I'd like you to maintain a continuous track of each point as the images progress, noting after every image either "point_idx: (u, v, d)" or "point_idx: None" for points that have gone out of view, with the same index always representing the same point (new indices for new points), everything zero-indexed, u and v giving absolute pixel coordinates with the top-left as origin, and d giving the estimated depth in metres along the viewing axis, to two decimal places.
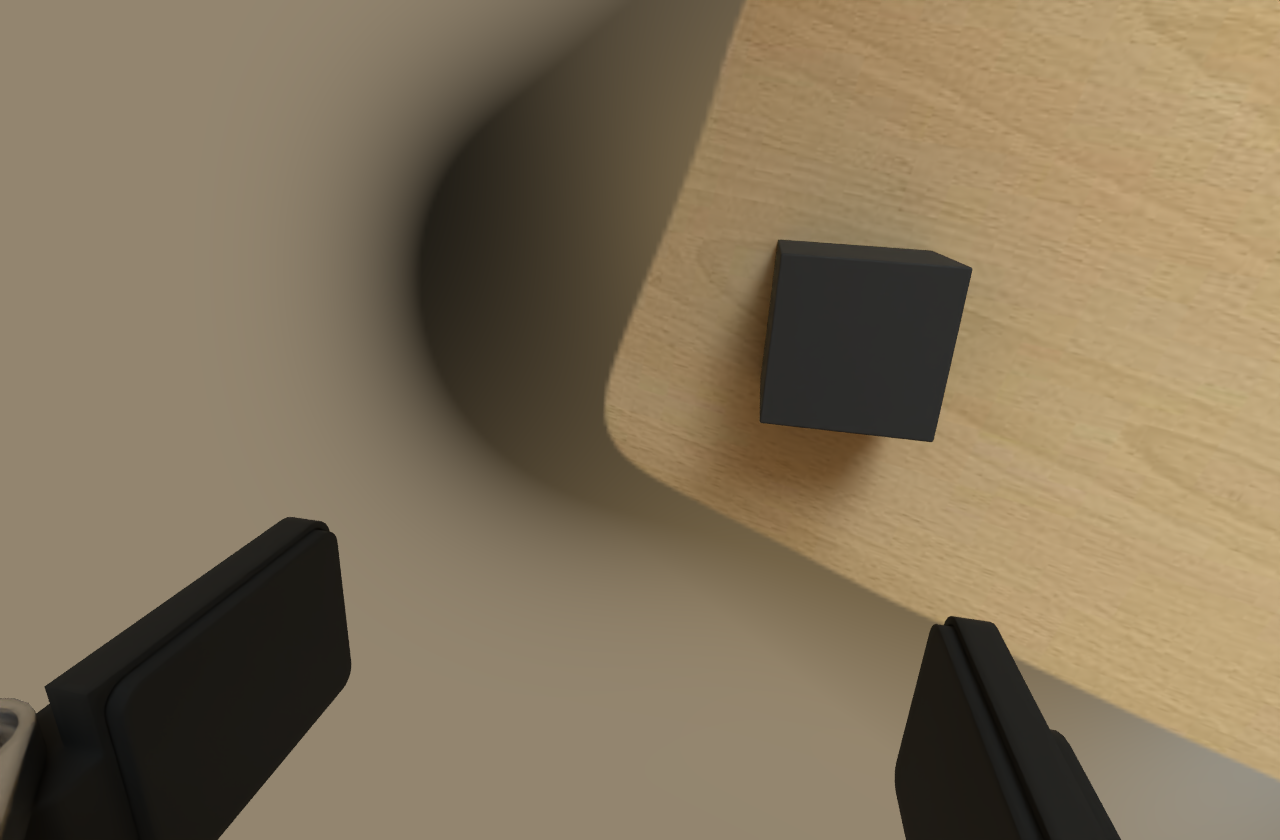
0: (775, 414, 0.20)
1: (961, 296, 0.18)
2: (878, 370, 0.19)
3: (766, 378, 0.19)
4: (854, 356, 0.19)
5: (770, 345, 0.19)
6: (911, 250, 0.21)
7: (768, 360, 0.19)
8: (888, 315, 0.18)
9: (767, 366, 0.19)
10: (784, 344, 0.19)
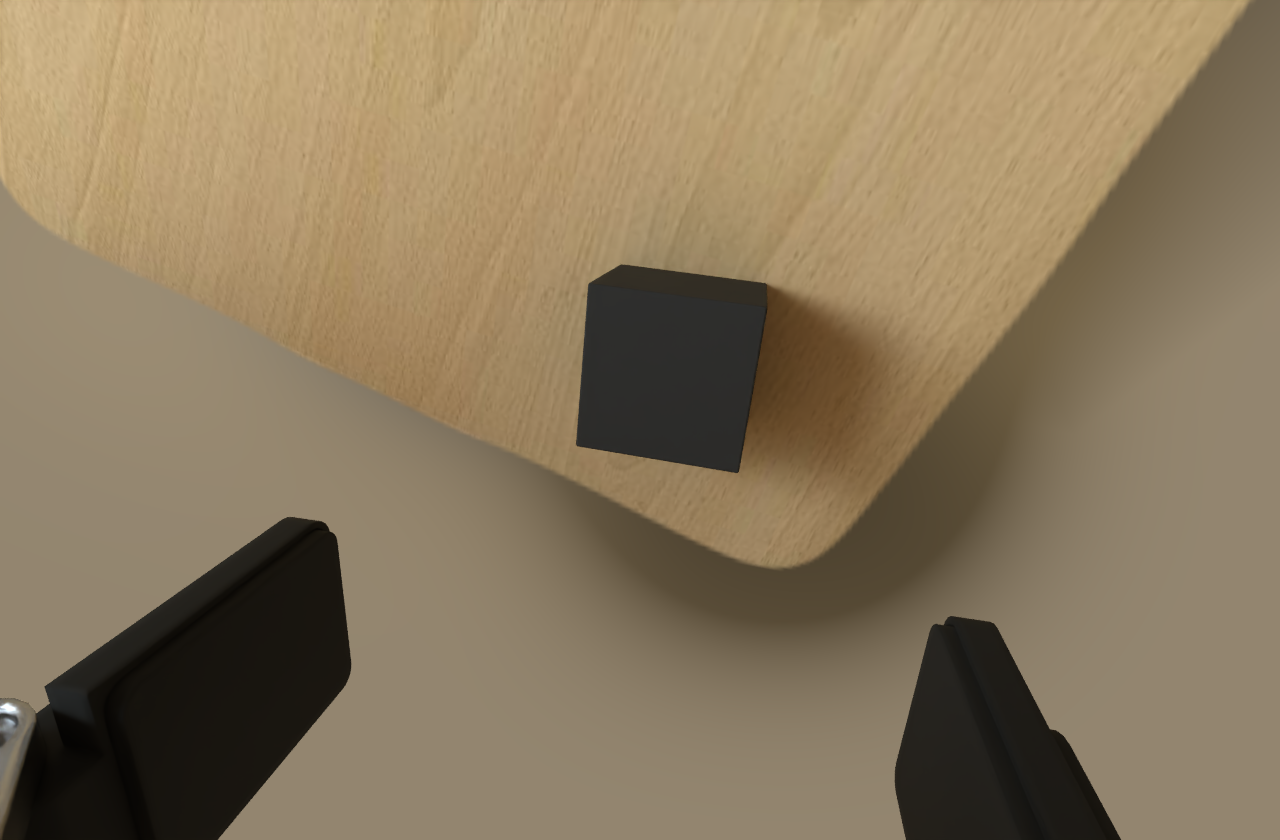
0: (729, 458, 0.20)
1: (614, 291, 0.19)
2: (686, 363, 0.19)
3: (692, 464, 0.20)
4: (671, 385, 0.19)
5: (659, 459, 0.20)
6: None
7: (674, 461, 0.20)
8: (631, 355, 0.19)
9: (680, 462, 0.20)
10: (658, 447, 0.20)
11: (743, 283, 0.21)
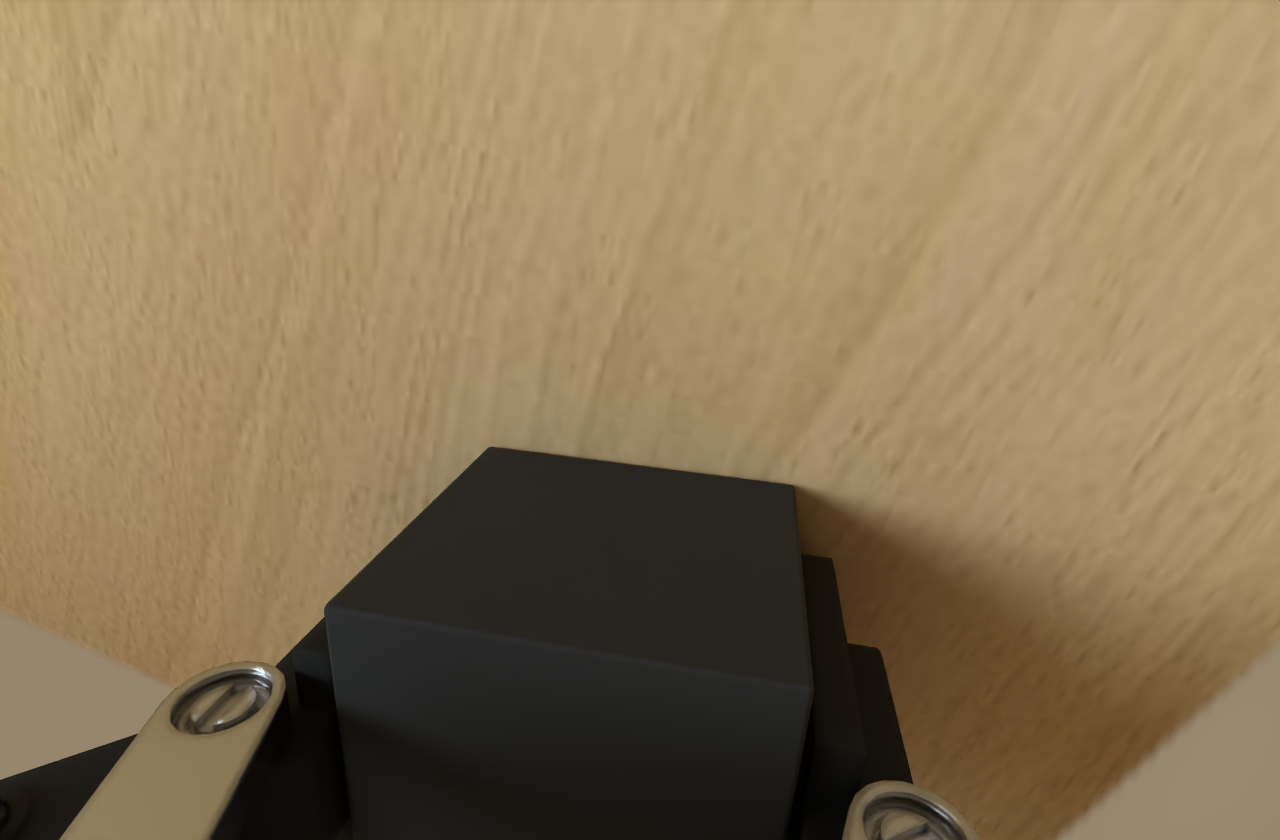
0: None
1: (392, 628, 0.07)
2: (599, 799, 0.07)
3: None
4: None
5: None
6: None
7: None
8: (459, 771, 0.07)
9: None
10: None
11: (744, 499, 0.10)
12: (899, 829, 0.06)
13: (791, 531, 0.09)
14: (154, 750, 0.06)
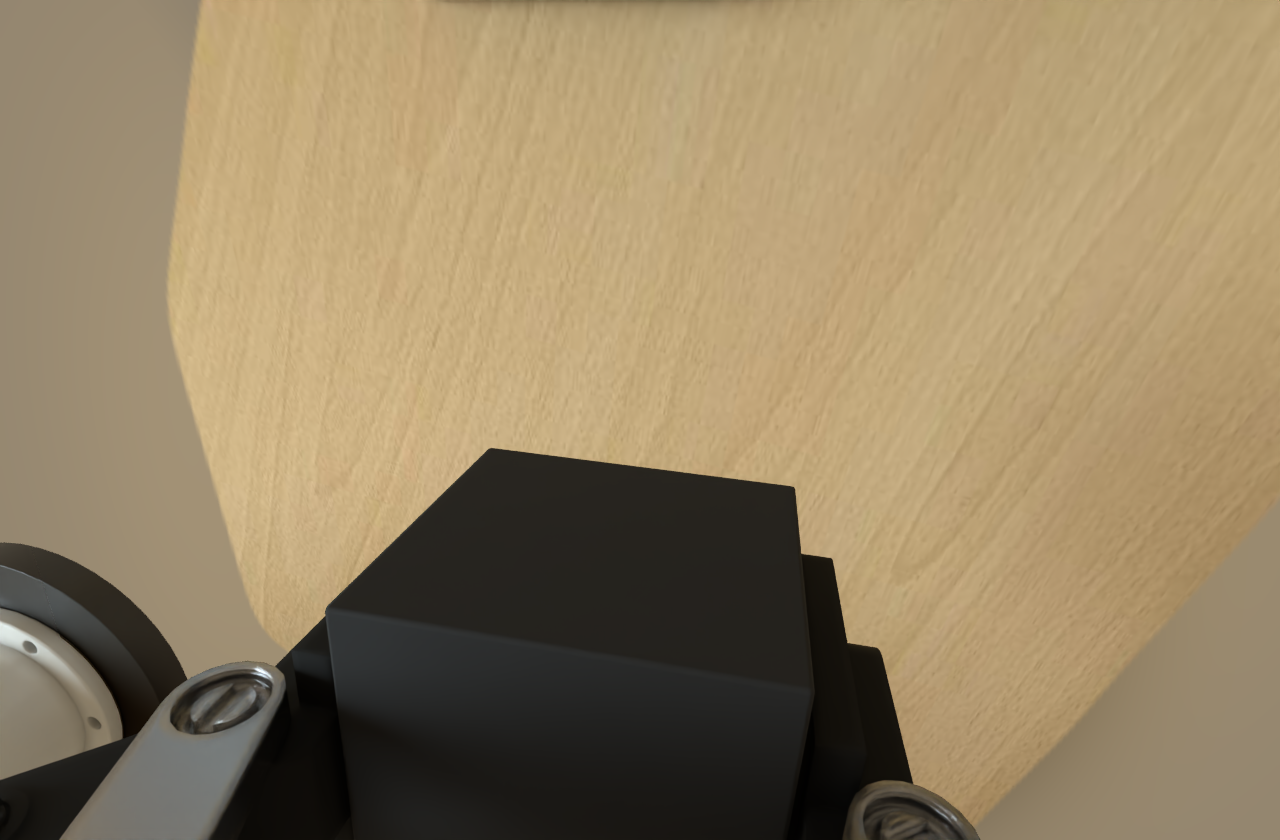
0: None
1: (393, 629, 0.07)
2: (600, 800, 0.07)
3: None
4: None
5: None
6: None
7: None
8: (460, 771, 0.07)
9: None
10: None
11: (744, 500, 0.10)
12: (899, 829, 0.06)
13: (791, 532, 0.09)
14: (154, 750, 0.06)
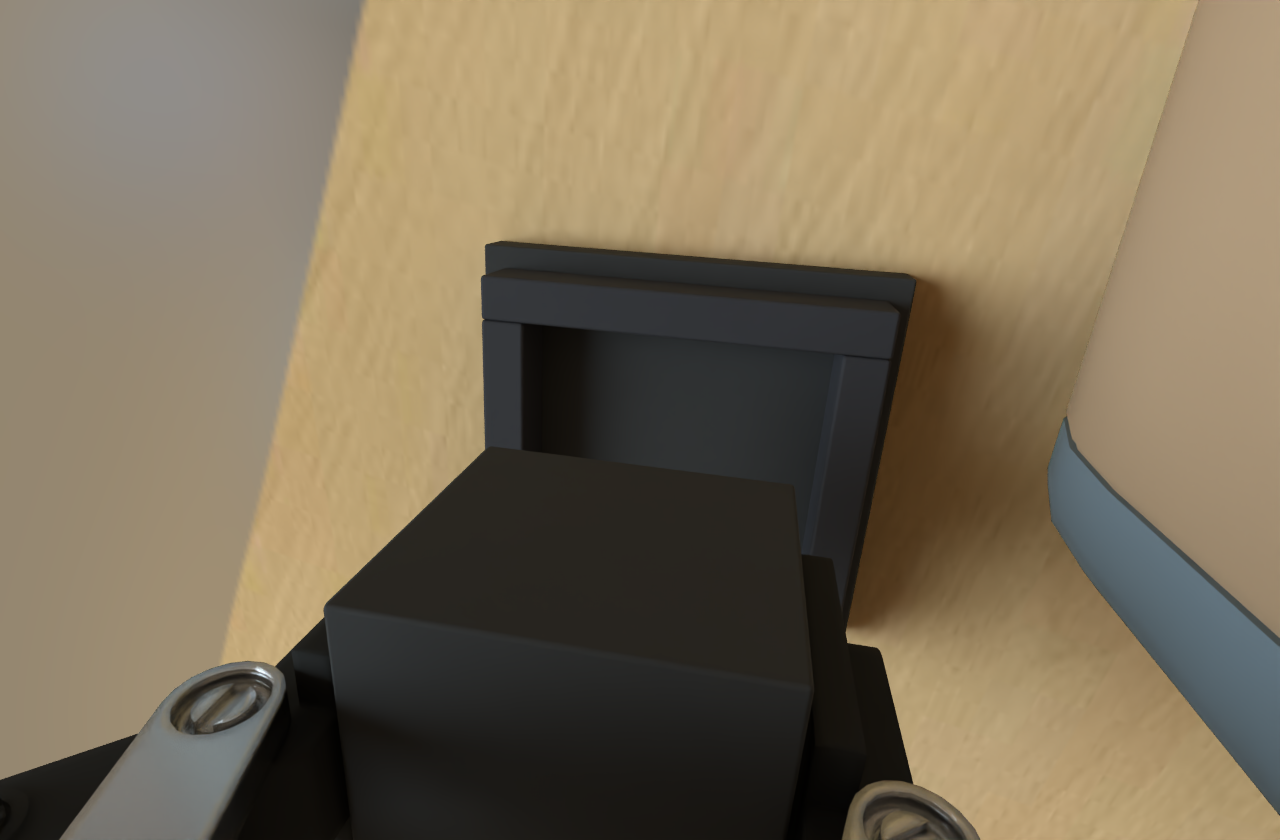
0: None
1: (391, 627, 0.07)
2: (599, 797, 0.07)
3: None
4: None
5: None
6: None
7: None
8: (459, 769, 0.07)
9: None
10: None
11: (744, 498, 0.10)
12: (898, 829, 0.06)
13: (791, 530, 0.09)
14: (153, 750, 0.06)
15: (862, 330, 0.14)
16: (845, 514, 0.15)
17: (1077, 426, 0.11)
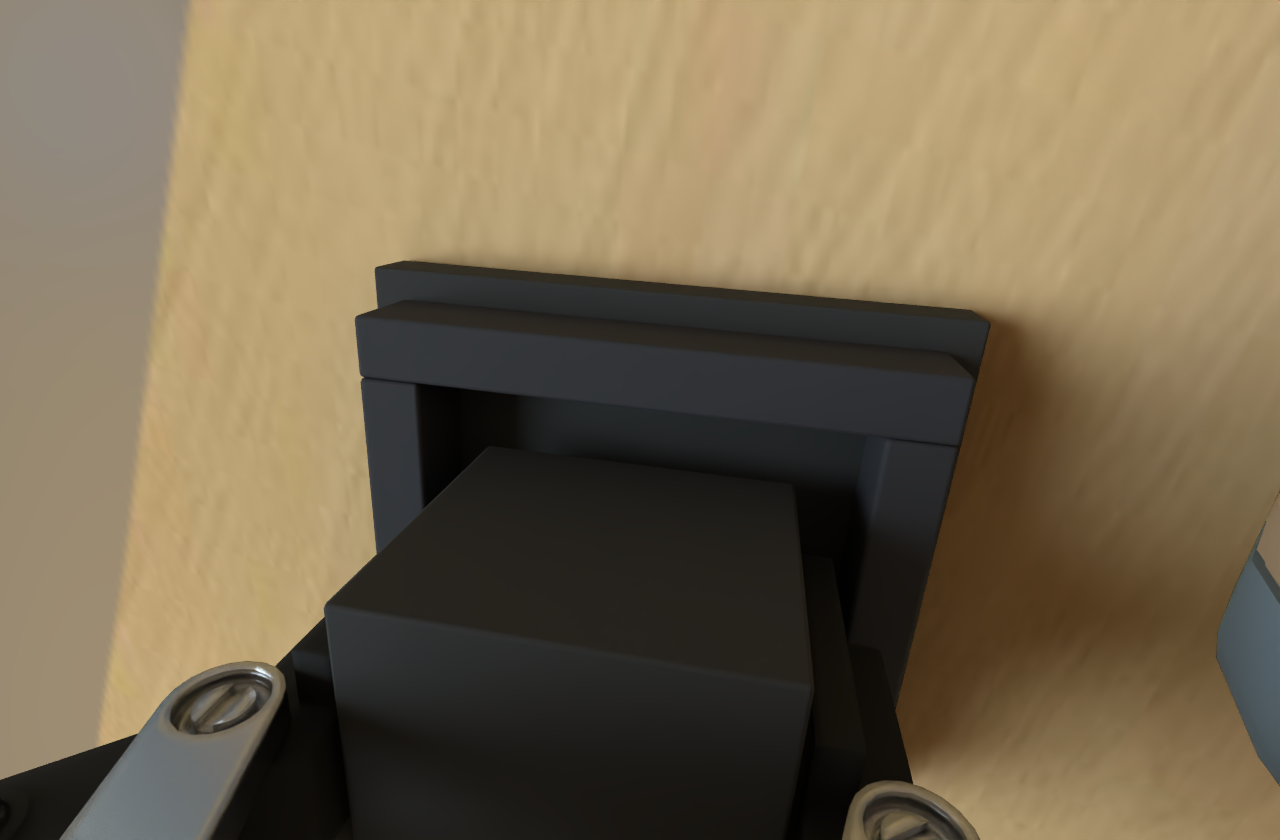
0: None
1: (392, 626, 0.07)
2: (599, 797, 0.07)
3: None
4: None
5: None
6: None
7: None
8: (460, 769, 0.07)
9: None
10: None
11: (744, 497, 0.10)
12: (898, 829, 0.06)
13: (791, 530, 0.09)
14: (153, 751, 0.06)
15: (916, 403, 0.09)
16: (884, 658, 0.10)
17: None
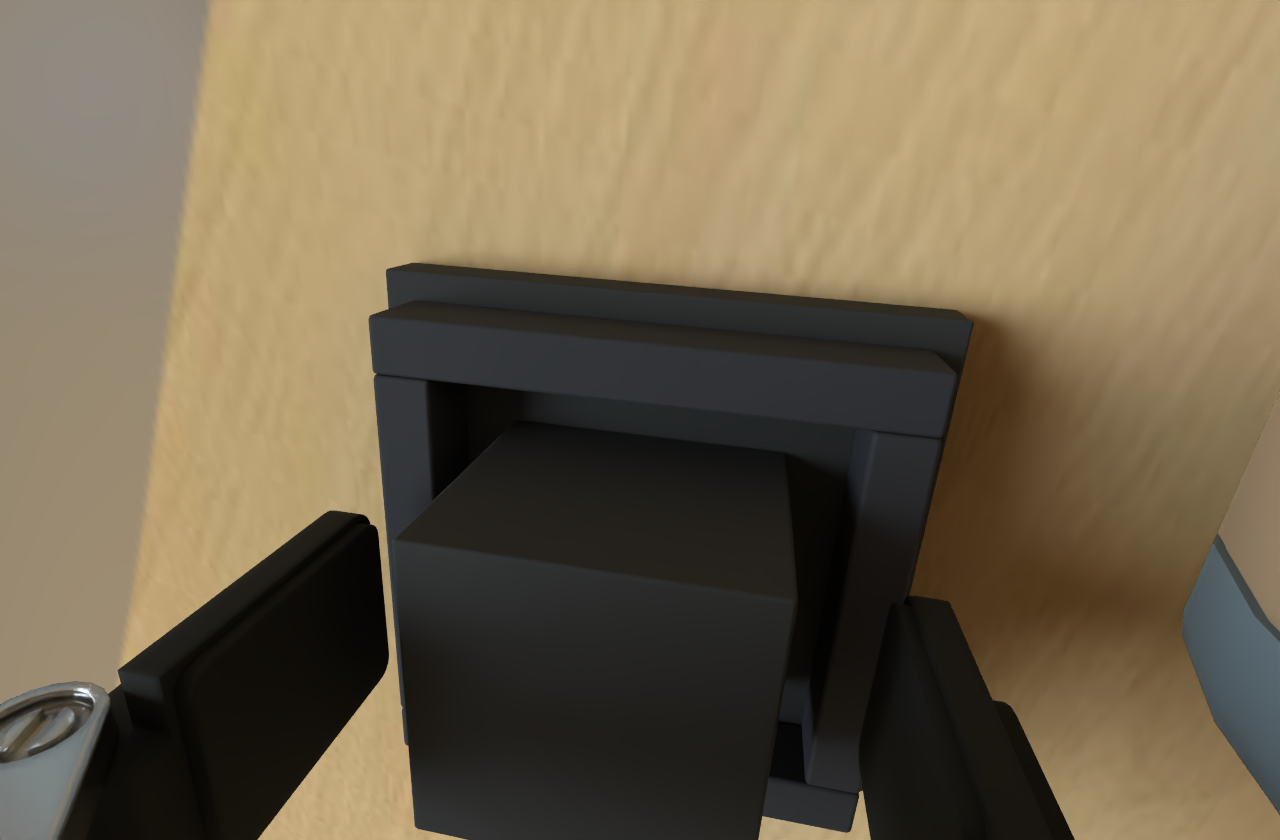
0: None
1: (449, 557, 0.08)
2: (621, 702, 0.08)
3: None
4: (593, 741, 0.09)
5: None
6: None
7: None
8: (503, 681, 0.09)
9: None
10: None
11: (742, 463, 0.11)
12: None
13: (782, 488, 0.10)
14: None
15: (902, 398, 0.10)
16: (873, 642, 0.11)
17: (1272, 586, 0.06)
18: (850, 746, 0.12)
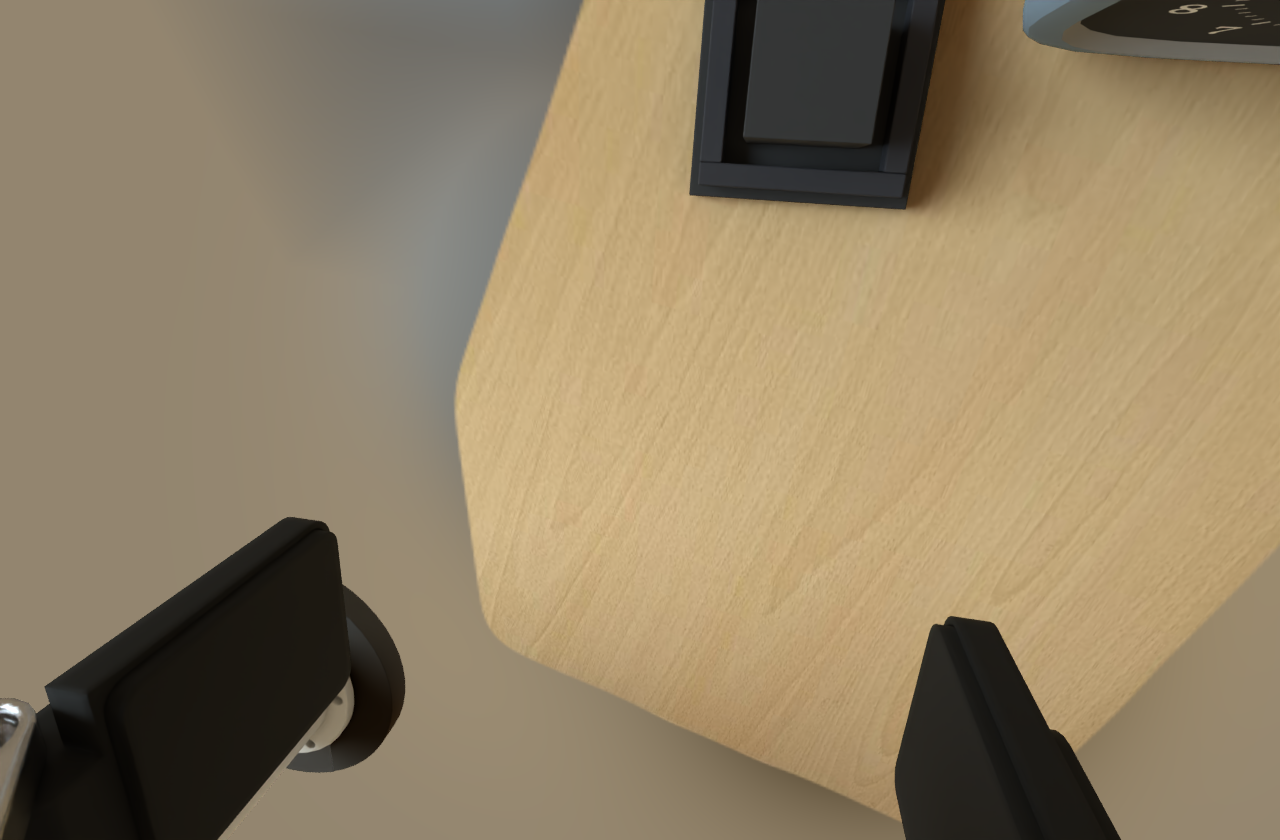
0: (865, 131, 0.26)
1: None
2: (833, 52, 0.25)
3: (835, 141, 0.26)
4: (820, 73, 0.25)
5: (809, 140, 0.26)
6: None
7: (821, 140, 0.26)
8: (790, 50, 0.25)
9: (825, 141, 0.26)
10: (808, 129, 0.26)
11: None
12: None
13: None
14: None
15: None
16: (914, 87, 0.28)
17: None
18: (903, 145, 0.28)
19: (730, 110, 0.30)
